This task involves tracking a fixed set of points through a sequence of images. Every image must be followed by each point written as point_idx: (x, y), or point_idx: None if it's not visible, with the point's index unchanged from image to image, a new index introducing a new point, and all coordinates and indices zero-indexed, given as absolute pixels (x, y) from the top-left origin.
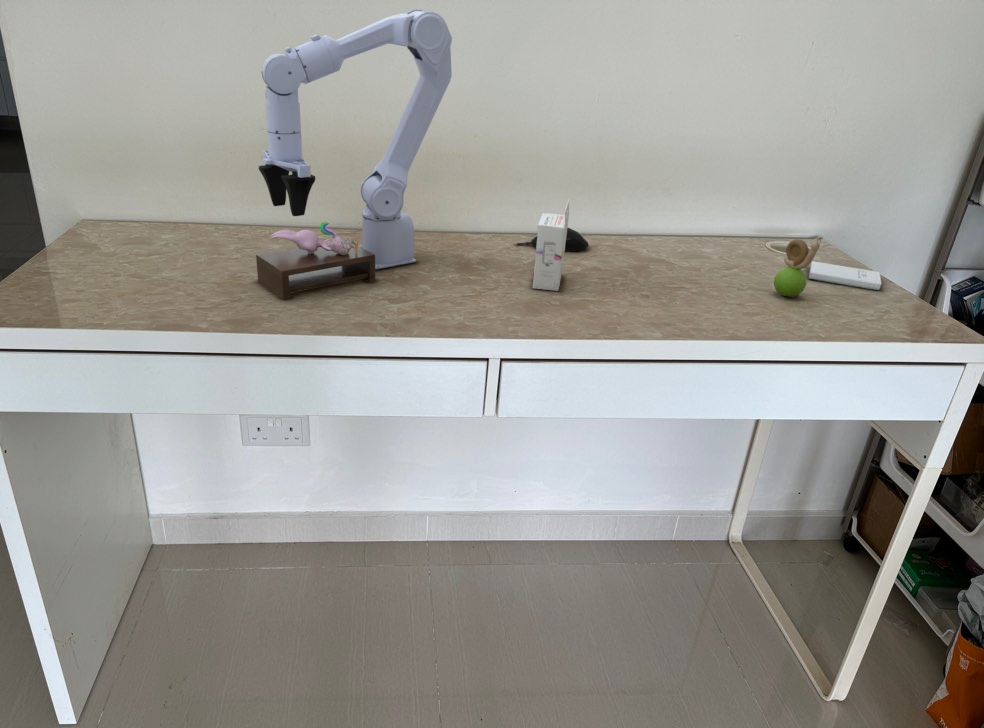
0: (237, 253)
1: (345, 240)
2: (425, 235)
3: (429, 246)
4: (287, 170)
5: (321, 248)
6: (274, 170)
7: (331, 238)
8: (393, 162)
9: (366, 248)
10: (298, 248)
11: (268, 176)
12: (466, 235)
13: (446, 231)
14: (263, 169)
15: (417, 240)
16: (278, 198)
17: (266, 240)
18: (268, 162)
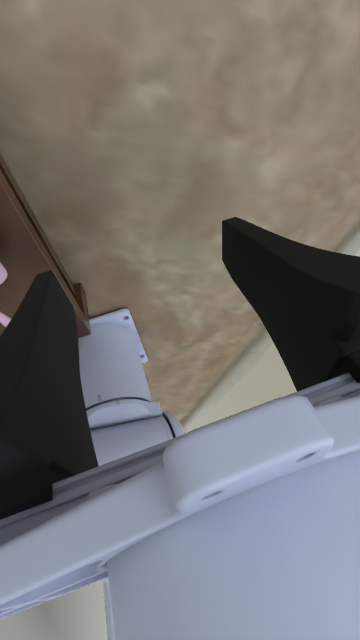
0: (283, 15)
1: (86, 332)
2: (201, 386)
3: (155, 389)
4: (297, 379)
5: (10, 280)
6: (319, 343)
7: (5, 325)
8: (104, 582)
9: (88, 347)
10: (10, 215)
11: (309, 289)
12: (181, 414)
13: (204, 400)
14: (357, 298)
15: (185, 379)
16: (235, 255)
17: (323, 156)
18: (172, 475)
